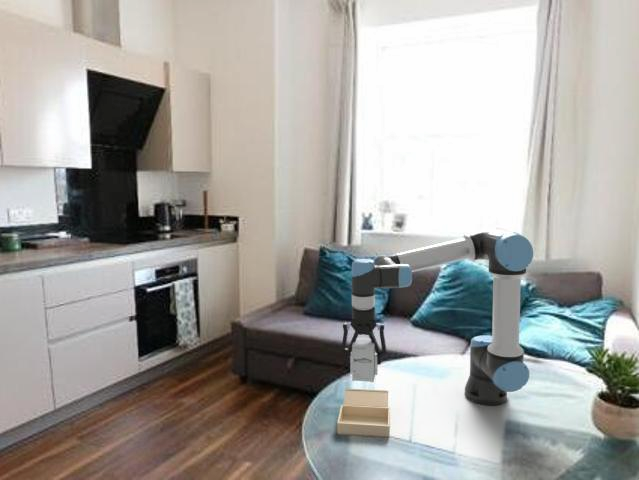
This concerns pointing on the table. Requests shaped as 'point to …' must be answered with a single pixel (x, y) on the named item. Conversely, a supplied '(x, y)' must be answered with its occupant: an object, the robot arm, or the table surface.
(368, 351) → the supplement box
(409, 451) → the table surface
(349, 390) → the lid flap
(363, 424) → the box
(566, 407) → the table surface
